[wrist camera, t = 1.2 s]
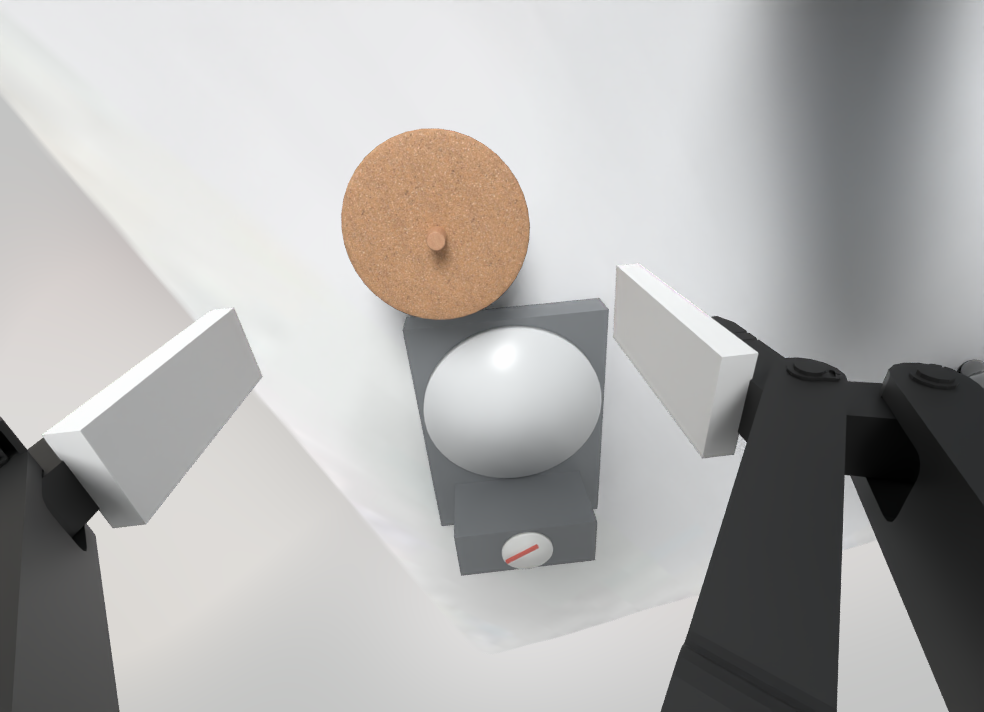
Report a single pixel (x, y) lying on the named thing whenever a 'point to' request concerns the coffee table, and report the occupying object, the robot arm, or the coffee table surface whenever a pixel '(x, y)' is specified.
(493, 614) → the coffee table surface
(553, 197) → the coffee table surface
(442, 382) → the scale
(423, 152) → the lidded jar
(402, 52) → the coffee table surface
